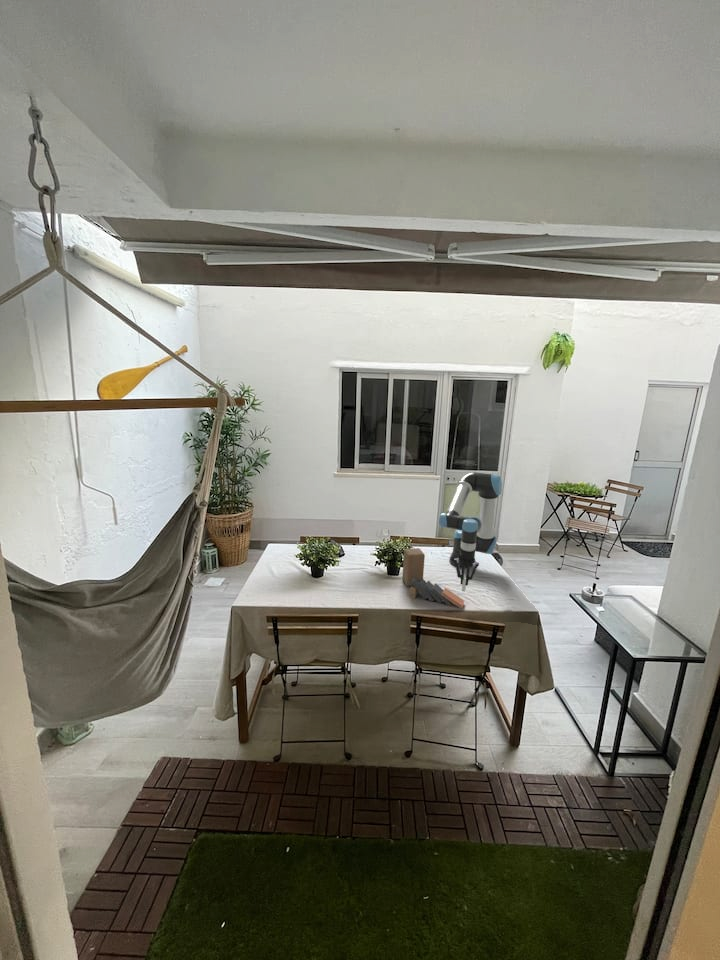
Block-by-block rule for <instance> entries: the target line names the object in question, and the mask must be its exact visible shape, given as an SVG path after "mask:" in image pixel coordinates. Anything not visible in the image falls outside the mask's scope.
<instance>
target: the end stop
mask: <svg viewBox="0 0 720 960" xmlns="http://www.w3.org/2000/svg"><path fill="white" fill-rule="evenodd" d="M418 594H420V592H419V591H418V590H417V589H416V588H415V586H414V585H413V584H412V586H410V587H409V598H410V599H413V600H415V599H416V598H417V596H418Z"/></svg>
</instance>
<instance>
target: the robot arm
mask: <svg viewBox="0 0 720 960" xmlns="http://www.w3.org/2000/svg"><path fill="white" fill-rule="evenodd" d="M502 482H503V481H502V477H501V476H500V475H498V474H493V473H485V472H484V473H483V472H478V471H477V472H476V471H473V472H468V473H467V474H465V475H463V476H462V477H461V478H460V479H459V480H458V481H457V483H456V485H455V489H456V490H455V492H454V494H453V497H452V499H451V501H450V503H449V506H448V507H447V510H446V512H443V513H441V514H439V518H438V524H439V527H441V528H442V527H443V528H445V529H452V530H455V531H454V535H453V545H452V546H453V548H452V552H451V554H450V555H449V561H448V562H449V563H450V565H452V566H455V569H456V575H457V576H456V577H457V578H460V585H461V586H462V588H461V592H466V588H467V586H468V585H469V581H471V580H473V577H474V575H475V573H476V570H477V568H478V567H479V565H480V562H478V561H476V558H475V556H476V552H477V553H481V554H485V555H486V554H487V555H492V554H494V552H495V548H496V545H497V541H498V537H497V536H495V535H496V534H495V532H494V531H493V529H494V518H495V507H496V500H497V499H498V497H499V496H500V495H501V494H502V489H503V487H502V486H503V485H502V484H503V483H502ZM472 492H475V493H477V492H478V493H477V494H478V497H479V498H480V502H479V503H480V504H479V506H480V507H479V516H471V517H466V516H463V515H461V514H462V512H463V509H464V507H465V504H466V501H467V499H468V497H469V495H470V494H471V493H472ZM472 566H473V568H472V571H470V570H471V567H472ZM460 568H461V569H460ZM465 569H466V575H465ZM470 572H471V573H470Z"/></svg>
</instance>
